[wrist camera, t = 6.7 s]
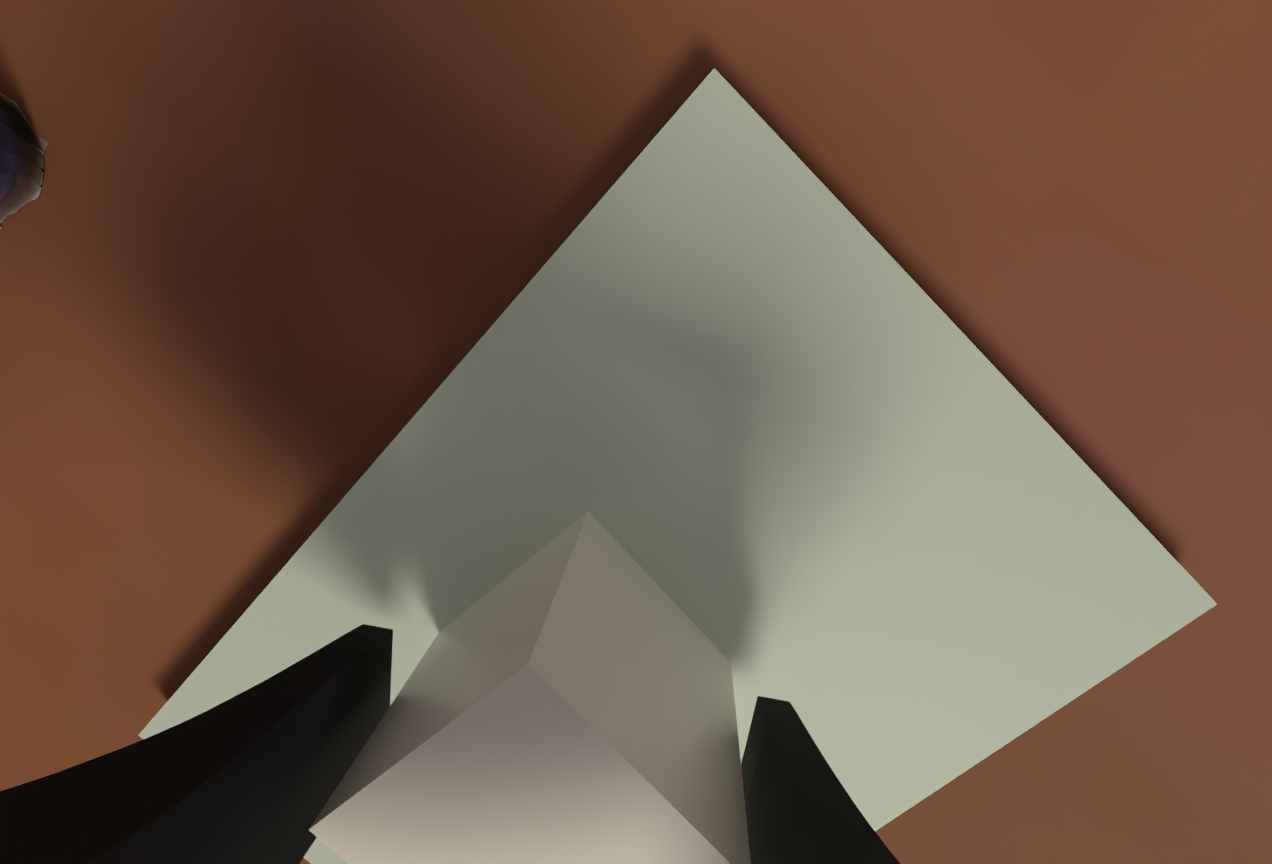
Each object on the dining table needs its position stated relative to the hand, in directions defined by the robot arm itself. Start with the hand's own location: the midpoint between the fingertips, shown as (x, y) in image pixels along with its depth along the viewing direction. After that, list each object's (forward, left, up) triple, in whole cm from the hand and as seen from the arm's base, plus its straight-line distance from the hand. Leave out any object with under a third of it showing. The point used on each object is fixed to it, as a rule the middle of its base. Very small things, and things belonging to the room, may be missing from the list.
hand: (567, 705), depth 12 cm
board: (0, +1, -3) cm, 3 cm away
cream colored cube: (0, 0, -2) cm, 2 cm away
